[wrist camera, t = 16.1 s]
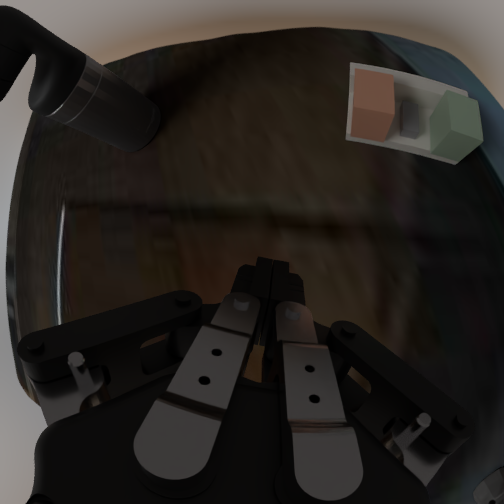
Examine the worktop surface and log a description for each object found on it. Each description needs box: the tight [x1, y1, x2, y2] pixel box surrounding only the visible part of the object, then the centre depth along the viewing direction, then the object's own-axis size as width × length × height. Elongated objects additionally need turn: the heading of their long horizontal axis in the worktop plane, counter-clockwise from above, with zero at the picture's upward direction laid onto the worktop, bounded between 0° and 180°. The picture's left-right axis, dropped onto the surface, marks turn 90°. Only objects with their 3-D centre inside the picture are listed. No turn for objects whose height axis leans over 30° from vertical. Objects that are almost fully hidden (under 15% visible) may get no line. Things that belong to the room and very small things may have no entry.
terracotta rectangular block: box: [350, 68, 395, 142], centre depth 25 cm, size 4×5×7 cm
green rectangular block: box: [429, 90, 483, 162], centre depth 22 cm, size 4×5×7 cm
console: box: [346, 62, 468, 165], centre depth 26 cm, size 15×8×6 cm, turn 80°
